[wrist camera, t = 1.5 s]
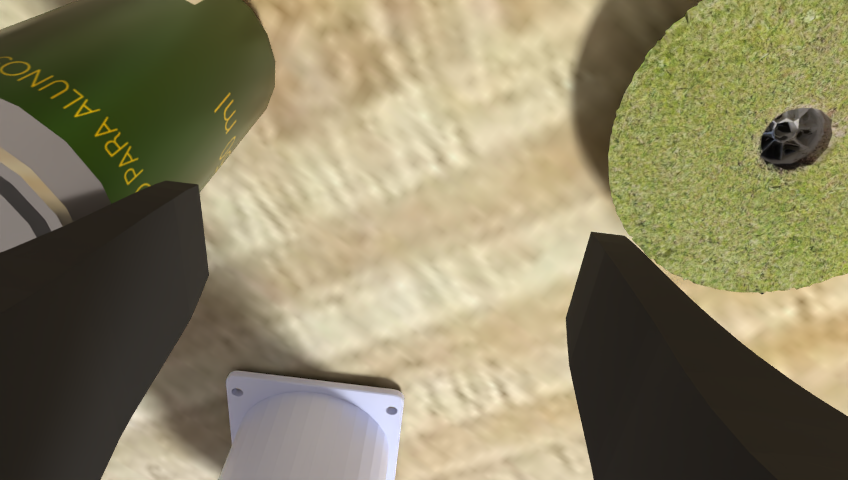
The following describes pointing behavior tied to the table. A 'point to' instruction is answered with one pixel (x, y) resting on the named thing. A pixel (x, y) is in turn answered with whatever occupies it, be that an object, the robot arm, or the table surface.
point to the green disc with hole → (739, 146)
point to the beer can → (122, 103)
